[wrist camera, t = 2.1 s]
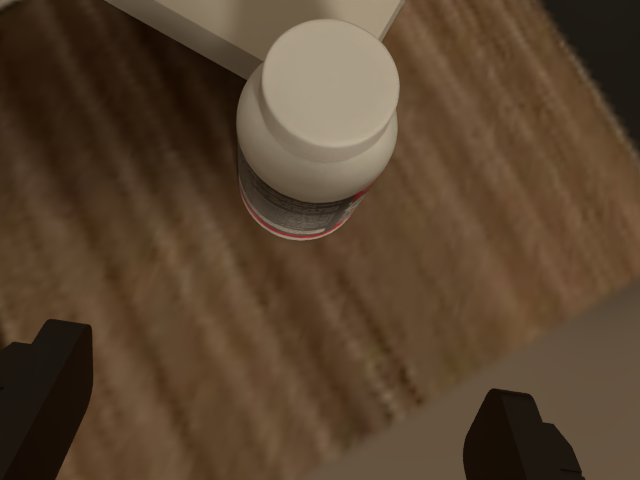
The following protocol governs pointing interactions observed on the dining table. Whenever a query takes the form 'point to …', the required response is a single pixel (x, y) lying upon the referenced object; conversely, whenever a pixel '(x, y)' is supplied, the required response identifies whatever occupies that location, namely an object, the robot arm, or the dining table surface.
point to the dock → (251, 23)
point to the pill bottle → (315, 127)
